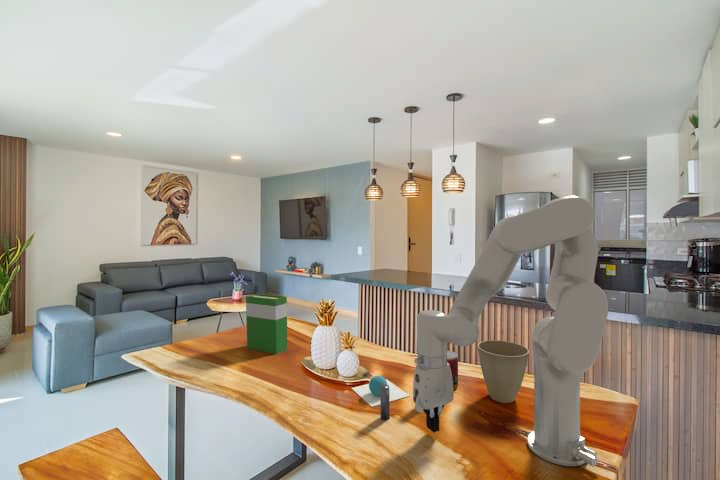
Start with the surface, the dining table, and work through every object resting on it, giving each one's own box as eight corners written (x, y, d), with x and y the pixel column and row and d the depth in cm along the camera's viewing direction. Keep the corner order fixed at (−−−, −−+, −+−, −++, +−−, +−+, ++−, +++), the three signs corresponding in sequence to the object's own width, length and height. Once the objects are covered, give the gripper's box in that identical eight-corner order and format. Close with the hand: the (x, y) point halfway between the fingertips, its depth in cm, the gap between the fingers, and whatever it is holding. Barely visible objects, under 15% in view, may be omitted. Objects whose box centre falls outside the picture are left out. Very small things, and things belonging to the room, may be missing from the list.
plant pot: (503, 414, 99) (503, 359, 99) (467, 392, 113) (467, 343, 112) (540, 403, 105) (540, 351, 105) (502, 383, 119) (502, 337, 118)
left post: (391, 418, 98) (391, 387, 98) (383, 421, 97) (383, 389, 96) (386, 414, 100) (386, 383, 100) (378, 416, 99) (378, 385, 99)
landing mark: (409, 396, 111) (409, 395, 111) (371, 407, 104) (371, 406, 104) (386, 379, 123) (386, 379, 123) (351, 388, 117) (351, 388, 117)
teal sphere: (380, 370, 116) (380, 388, 116) (365, 375, 113) (365, 392, 113) (391, 378, 111) (390, 396, 111) (376, 383, 108) (375, 401, 108)
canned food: (459, 392, 113) (458, 358, 113) (434, 390, 115) (433, 357, 114) (457, 381, 121) (457, 350, 120) (433, 380, 122) (433, 349, 122)
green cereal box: (247, 348, 159) (245, 296, 158) (258, 343, 166) (257, 293, 165) (276, 354, 151) (275, 299, 150) (287, 348, 157) (286, 296, 157)
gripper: (417, 370, 82) (418, 445, 83) (464, 358, 89) (464, 428, 90) (399, 360, 89) (400, 430, 90) (444, 350, 96) (445, 415, 97)
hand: (432, 429), depth 90 cm, fingers closed
